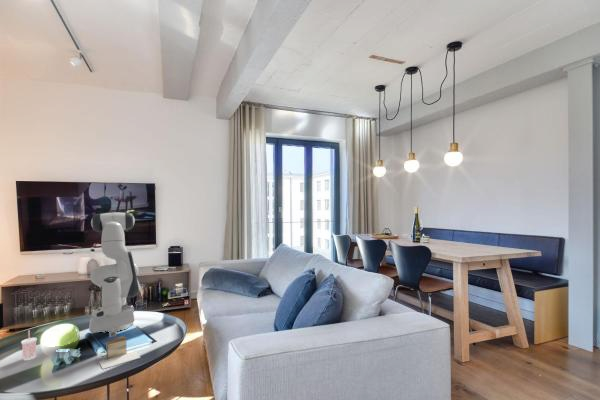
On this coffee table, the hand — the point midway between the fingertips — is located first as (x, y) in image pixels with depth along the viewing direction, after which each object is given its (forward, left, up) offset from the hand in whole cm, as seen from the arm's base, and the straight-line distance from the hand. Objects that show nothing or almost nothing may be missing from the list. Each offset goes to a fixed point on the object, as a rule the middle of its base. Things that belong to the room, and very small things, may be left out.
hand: (112, 336), depth 169 cm
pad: (+15, 0, -7) cm, 16 cm away
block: (+7, 0, -7) cm, 10 cm away
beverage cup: (-20, -33, -8) cm, 39 cm away
